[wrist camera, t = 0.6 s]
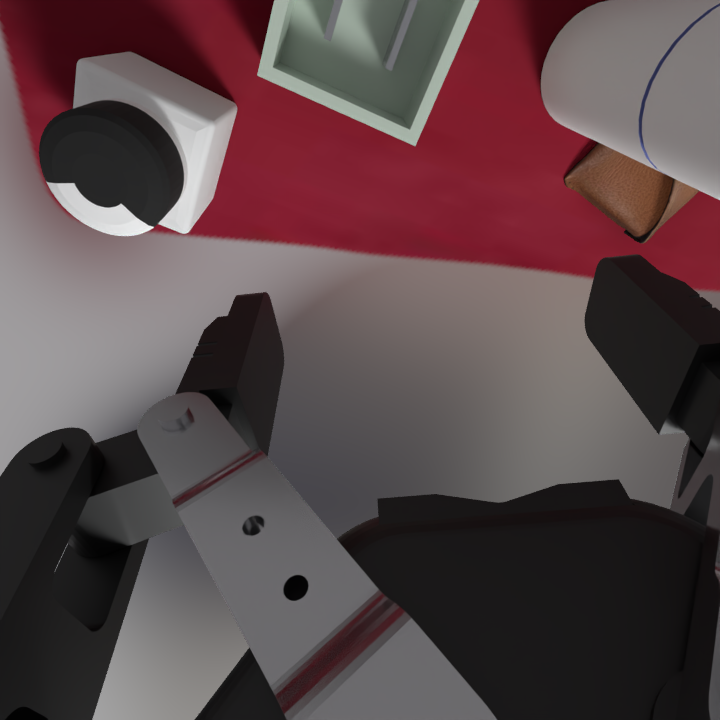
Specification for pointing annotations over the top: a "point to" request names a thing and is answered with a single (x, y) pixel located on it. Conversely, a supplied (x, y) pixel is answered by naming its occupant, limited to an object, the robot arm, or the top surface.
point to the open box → (367, 56)
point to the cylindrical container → (643, 84)
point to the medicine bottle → (136, 146)
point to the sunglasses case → (628, 191)
